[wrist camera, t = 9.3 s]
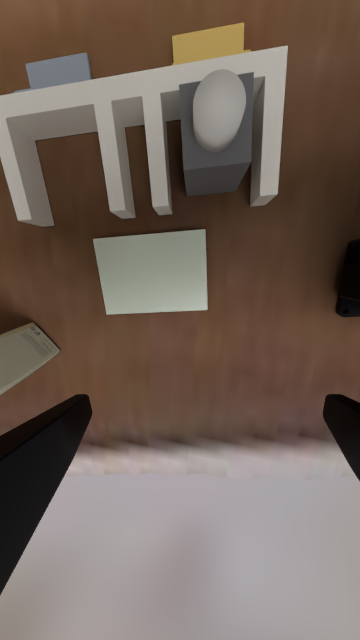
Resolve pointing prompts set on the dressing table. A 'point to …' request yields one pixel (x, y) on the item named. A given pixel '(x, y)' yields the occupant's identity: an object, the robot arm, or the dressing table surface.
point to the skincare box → (23, 354)
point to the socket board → (135, 118)
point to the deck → (153, 272)
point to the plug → (216, 131)
